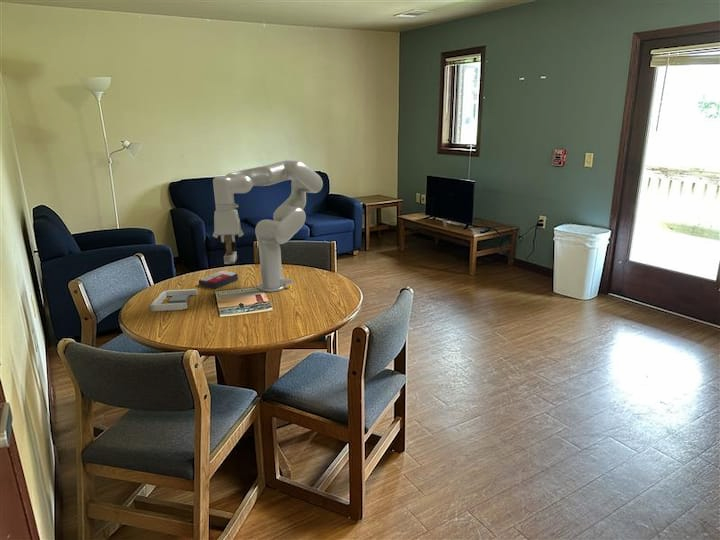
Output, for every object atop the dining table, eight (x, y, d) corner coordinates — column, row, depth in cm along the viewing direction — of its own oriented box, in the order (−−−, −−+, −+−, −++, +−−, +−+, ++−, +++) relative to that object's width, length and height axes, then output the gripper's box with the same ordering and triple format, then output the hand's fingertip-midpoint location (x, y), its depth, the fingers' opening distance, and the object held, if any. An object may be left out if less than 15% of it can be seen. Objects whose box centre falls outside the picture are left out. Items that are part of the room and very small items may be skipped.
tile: (190, 299, 217) (189, 294, 216) (185, 305, 210) (185, 300, 209) (173, 300, 216) (173, 295, 215) (168, 306, 210) (168, 300, 209)
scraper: (237, 258, 213) (234, 229, 210) (234, 263, 206) (231, 234, 202) (227, 258, 213) (224, 230, 209) (224, 263, 205) (221, 234, 202)
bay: (197, 294, 222) (196, 288, 222) (186, 309, 204) (186, 303, 203) (164, 295, 221) (163, 290, 221) (150, 311, 203) (149, 305, 202)
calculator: (197, 279, 233) (221, 269, 245) (199, 287, 235) (222, 277, 247) (214, 282, 228) (237, 272, 240) (215, 291, 229) (238, 280, 241)
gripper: (246, 205, 207) (250, 247, 212) (207, 206, 206) (212, 249, 211) (243, 208, 200) (248, 252, 205) (203, 209, 199) (208, 254, 204)
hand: (229, 250), depth 208 cm, fingers closed on scraper, 2 cm apart
